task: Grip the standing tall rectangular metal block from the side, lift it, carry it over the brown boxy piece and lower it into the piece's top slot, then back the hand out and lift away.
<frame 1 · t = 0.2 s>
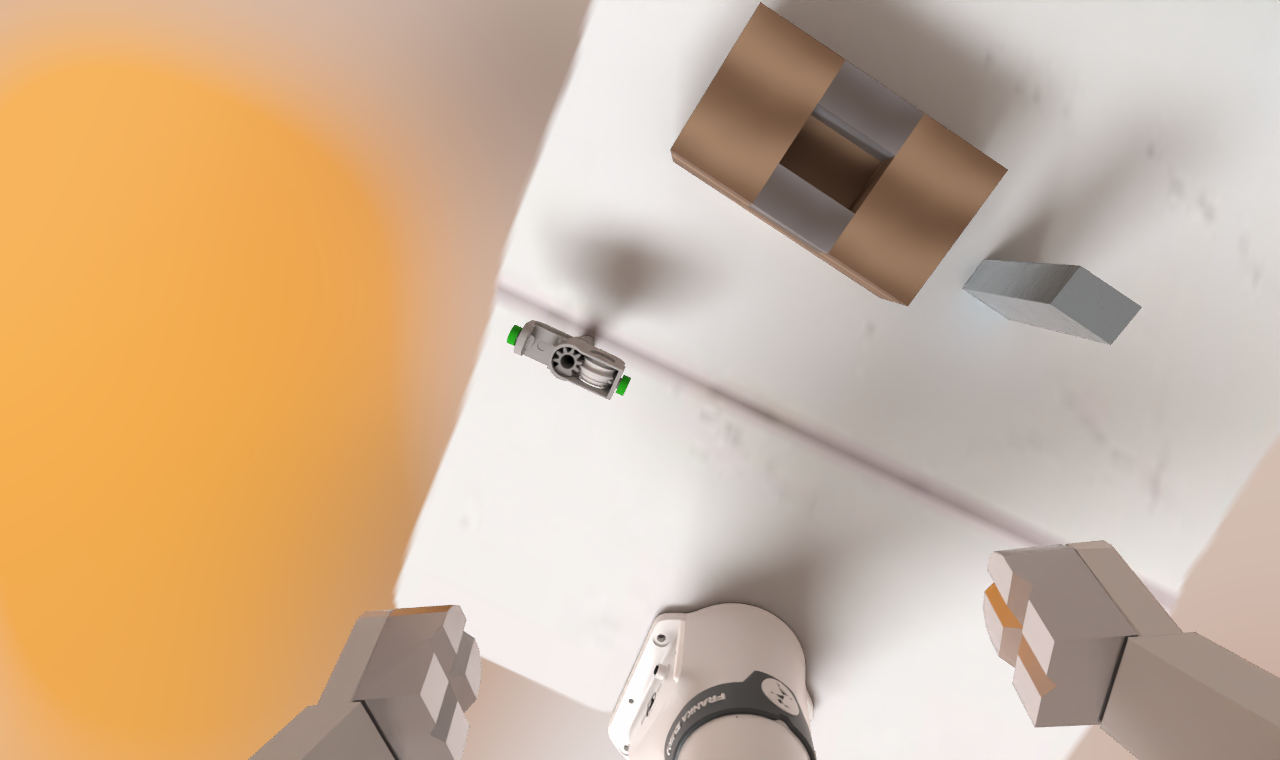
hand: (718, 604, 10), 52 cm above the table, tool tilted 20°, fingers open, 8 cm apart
tall rectangular metal block: (996, 289, 59), on the table
brown boxy piece: (817, 170, 59), on the table
mechanical component: (586, 343, 63), on the table
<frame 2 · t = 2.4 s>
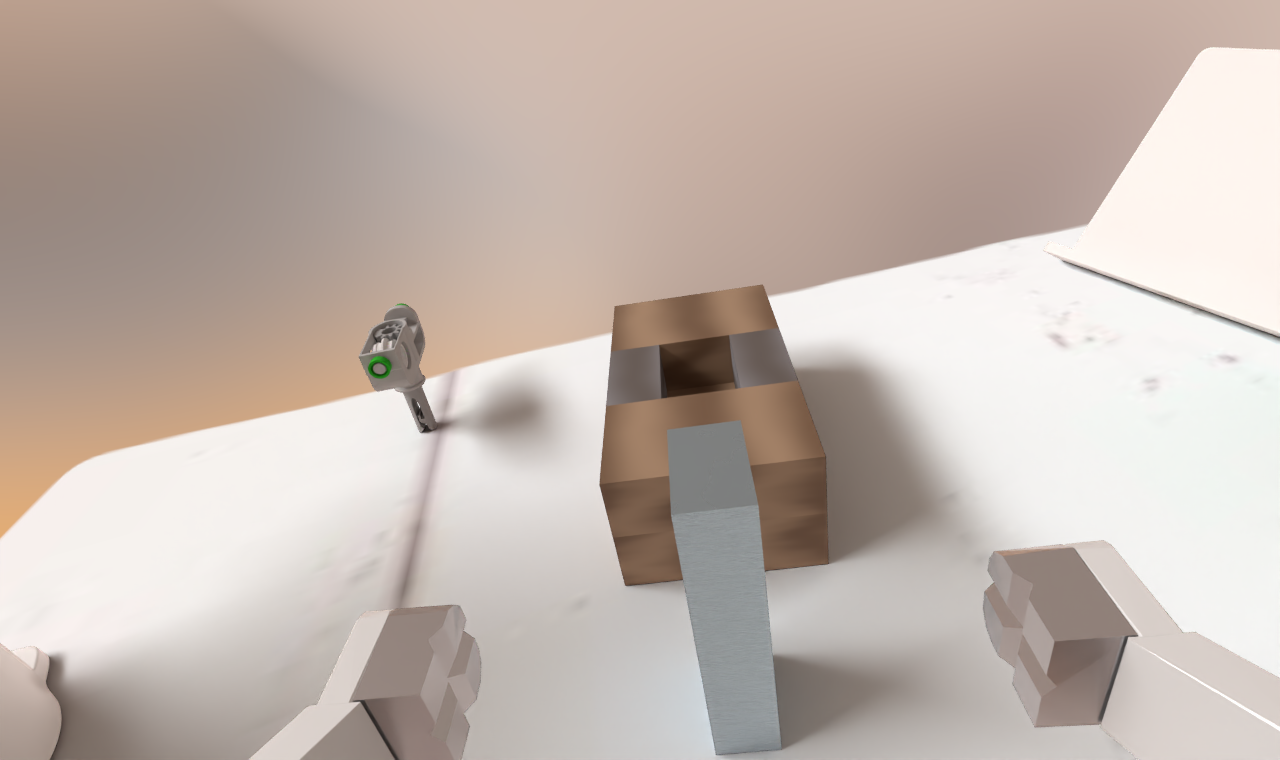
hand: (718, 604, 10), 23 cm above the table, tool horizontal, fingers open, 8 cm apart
tall rectangular metal block: (742, 701, 33), on the table
tablet stand: (1241, 290, 57), on the table
brown boxy piece: (710, 458, 49), on the table
mechanical component: (428, 429, 59), on the table
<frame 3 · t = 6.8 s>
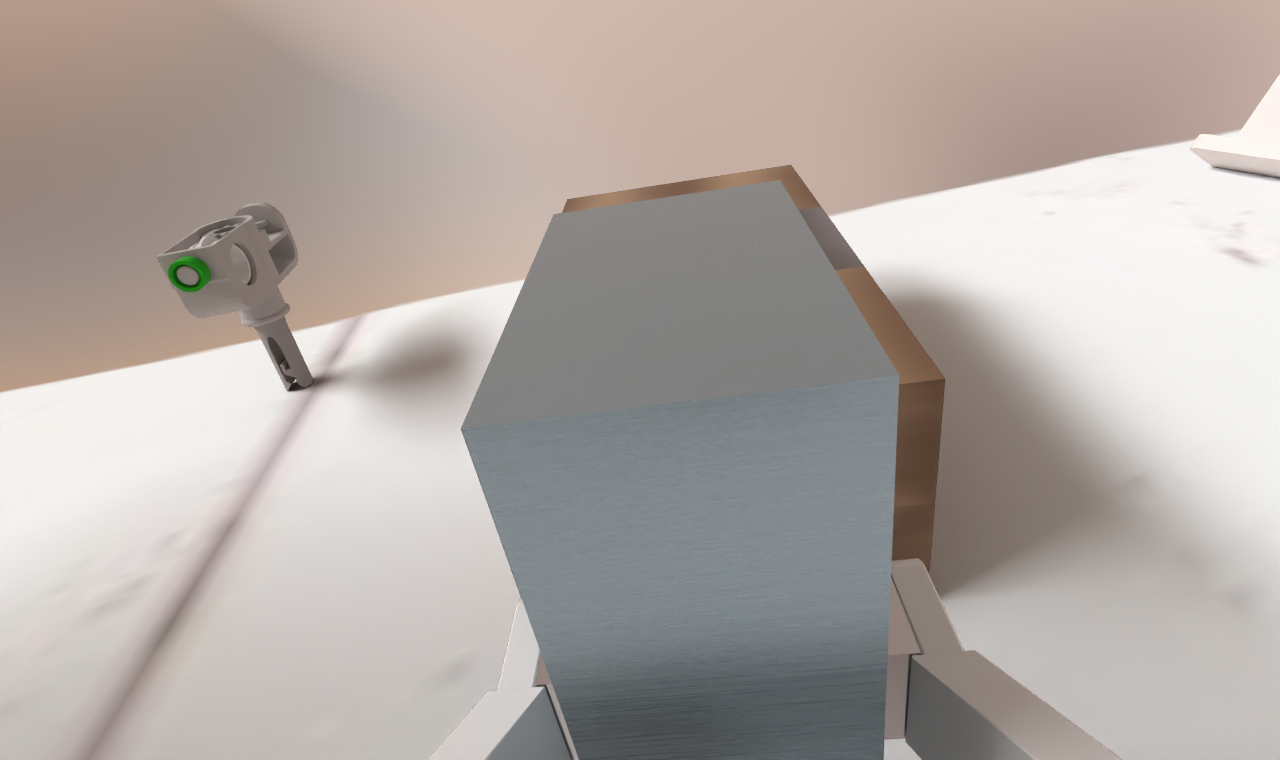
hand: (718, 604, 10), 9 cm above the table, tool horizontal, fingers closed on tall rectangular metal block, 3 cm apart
brown boxy piece: (706, 421, 31), on the table
mechanical component: (301, 387, 41), on the table
when the fingers open (14 cm above the table, at t = 13.4 s): tall rectangular metal block drops 1 cm, resting on brown boxy piece.
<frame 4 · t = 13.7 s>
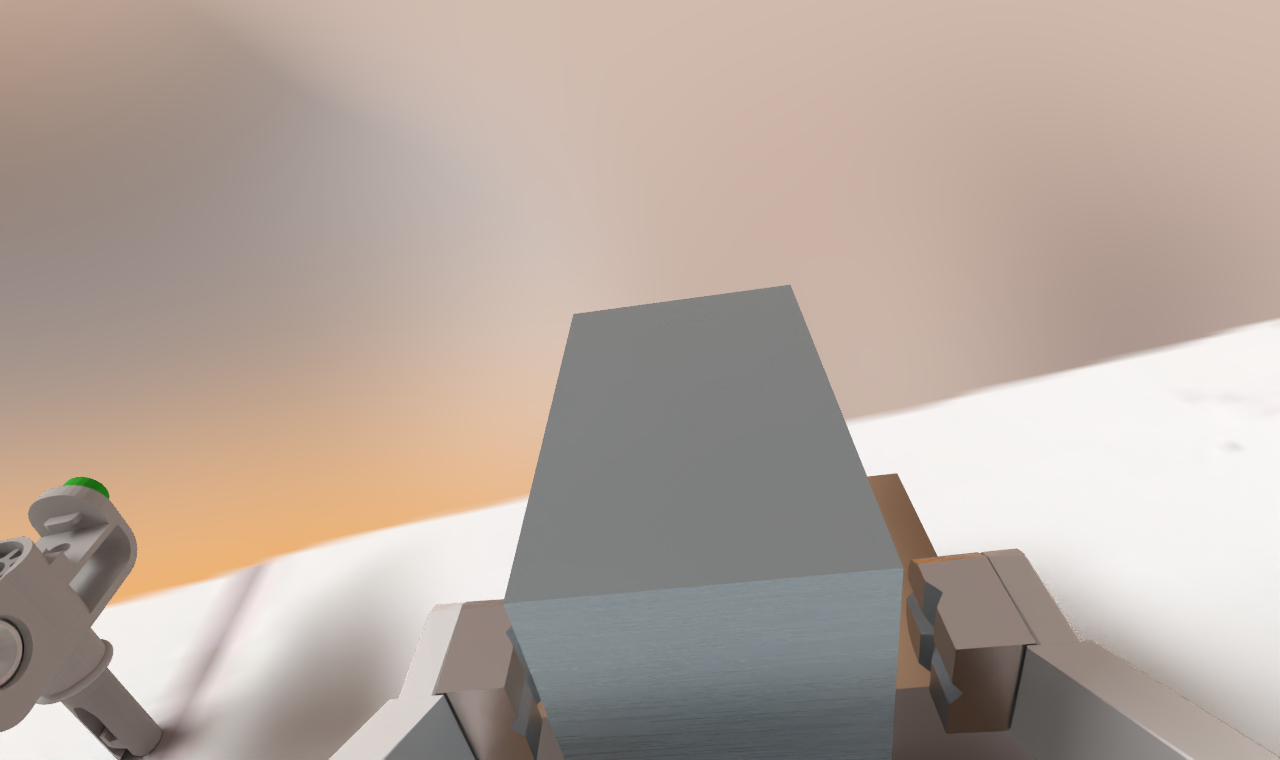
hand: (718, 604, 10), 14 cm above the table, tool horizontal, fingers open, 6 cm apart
mechanical component: (142, 747, 27), on the table
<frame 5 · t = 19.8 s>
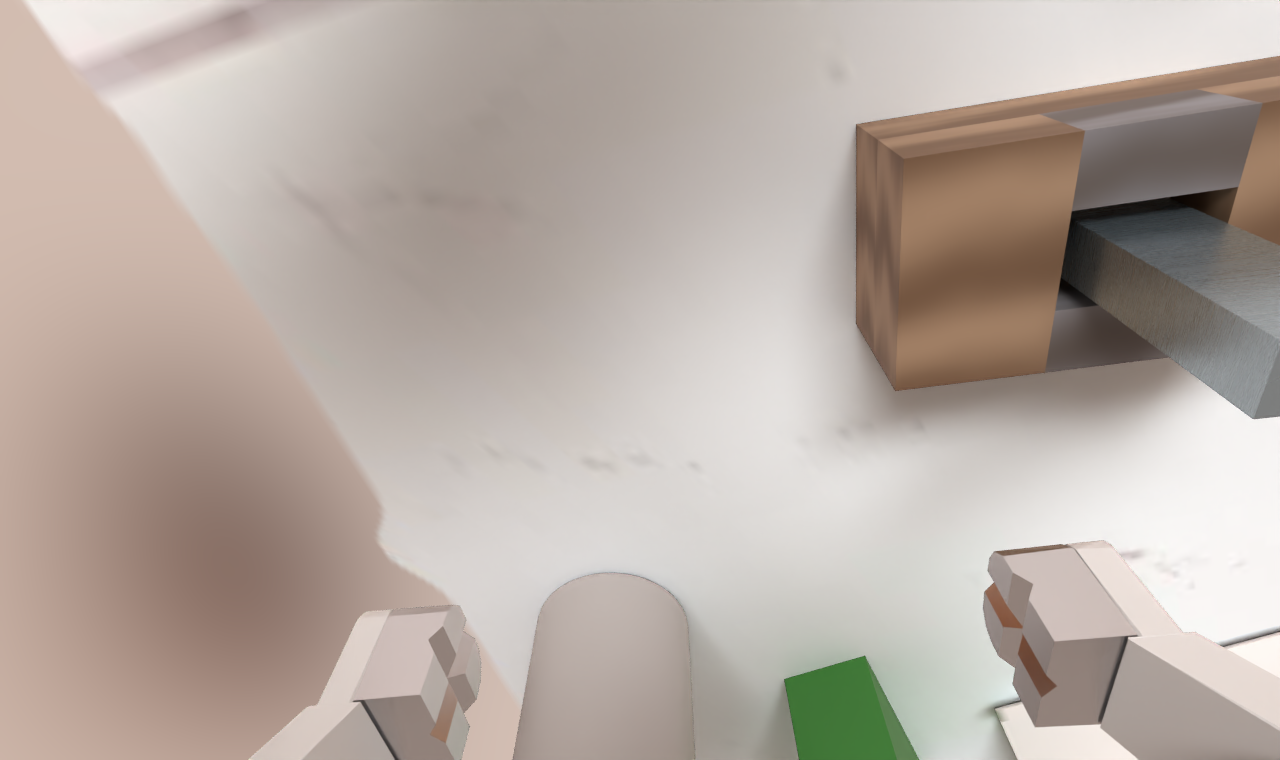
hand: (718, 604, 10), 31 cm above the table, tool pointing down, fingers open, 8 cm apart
tall rectangular metal block: (1092, 226, 35), point 4 cm above the table, touching brown boxy piece
tablet stand: (1146, 701, 62), on the table
cylinder vase: (613, 618, 57), on the table
hardback book: (854, 719, 64), on the table
brown boxy piece: (1054, 202, 38), on the table
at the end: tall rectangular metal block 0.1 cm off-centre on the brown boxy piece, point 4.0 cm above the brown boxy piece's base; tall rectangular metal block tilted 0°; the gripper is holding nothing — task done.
